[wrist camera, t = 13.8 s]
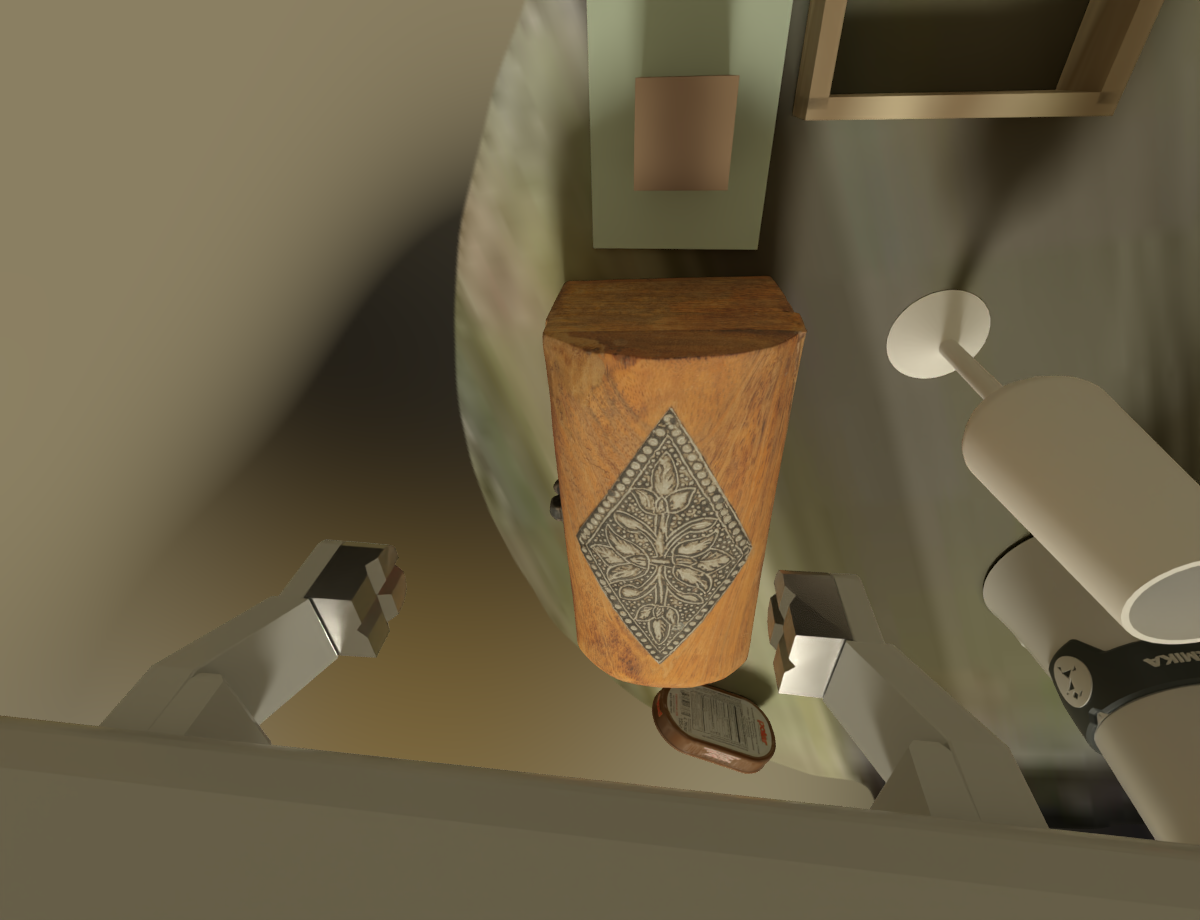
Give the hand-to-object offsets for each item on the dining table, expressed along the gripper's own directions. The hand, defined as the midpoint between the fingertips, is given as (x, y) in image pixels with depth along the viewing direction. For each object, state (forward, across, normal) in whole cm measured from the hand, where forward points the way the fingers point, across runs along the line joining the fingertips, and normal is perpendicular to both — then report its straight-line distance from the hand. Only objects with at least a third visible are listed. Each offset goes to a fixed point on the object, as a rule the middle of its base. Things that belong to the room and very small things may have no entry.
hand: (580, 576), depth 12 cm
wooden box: (+32, -2, +18) cm, 36 cm away
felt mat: (+31, -2, -6) cm, 32 cm away
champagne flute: (+31, -21, +7) cm, 38 cm away
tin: (+31, -10, +54) cm, 63 cm away
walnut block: (+30, -2, -6) cm, 31 cm away
